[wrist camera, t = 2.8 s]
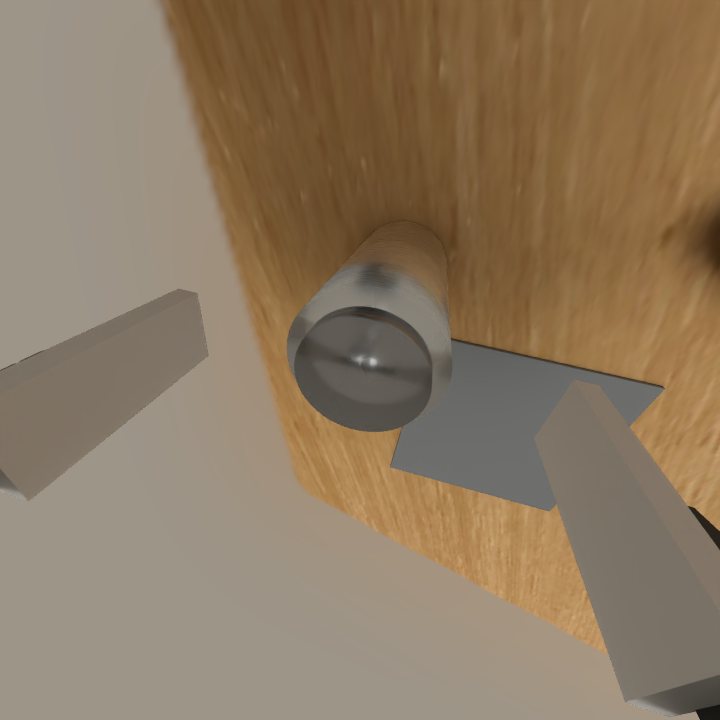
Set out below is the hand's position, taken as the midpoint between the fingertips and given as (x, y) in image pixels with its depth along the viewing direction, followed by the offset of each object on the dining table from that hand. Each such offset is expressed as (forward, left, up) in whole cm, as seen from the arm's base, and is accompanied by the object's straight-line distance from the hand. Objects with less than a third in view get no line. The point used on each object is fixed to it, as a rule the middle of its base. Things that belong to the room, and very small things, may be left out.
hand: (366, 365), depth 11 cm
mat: (+11, +10, -10) cm, 18 cm away
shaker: (0, 0, -10) cm, 10 cm away
